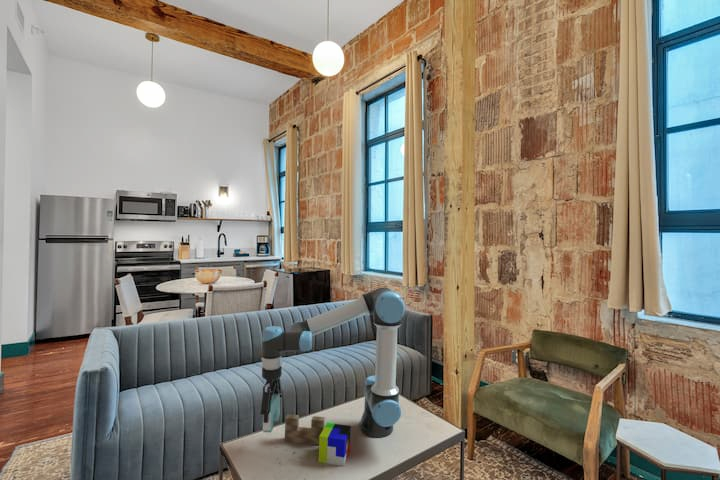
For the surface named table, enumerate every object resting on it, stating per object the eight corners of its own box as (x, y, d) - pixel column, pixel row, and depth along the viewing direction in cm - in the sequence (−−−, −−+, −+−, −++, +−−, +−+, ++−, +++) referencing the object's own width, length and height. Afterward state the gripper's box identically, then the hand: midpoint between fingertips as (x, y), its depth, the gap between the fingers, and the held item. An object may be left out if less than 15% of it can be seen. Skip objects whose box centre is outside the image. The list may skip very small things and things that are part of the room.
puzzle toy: (343, 466, 132) (344, 440, 131) (318, 461, 134) (319, 436, 133) (349, 450, 141) (350, 425, 141) (326, 446, 143) (327, 422, 143)
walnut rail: (323, 440, 147) (324, 417, 147) (322, 444, 144) (323, 420, 144) (286, 437, 148) (287, 414, 148) (284, 441, 145) (285, 418, 145)
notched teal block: (272, 416, 144) (272, 392, 144) (279, 417, 144) (279, 393, 143) (263, 432, 133) (263, 406, 133) (270, 432, 133) (270, 406, 132)
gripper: (272, 355, 150) (271, 406, 150) (251, 378, 126) (251, 438, 127) (289, 356, 149) (289, 407, 150) (271, 379, 126) (271, 439, 126)
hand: (271, 421), depth 138 cm, fingers closed on notched teal block, 11 cm apart
